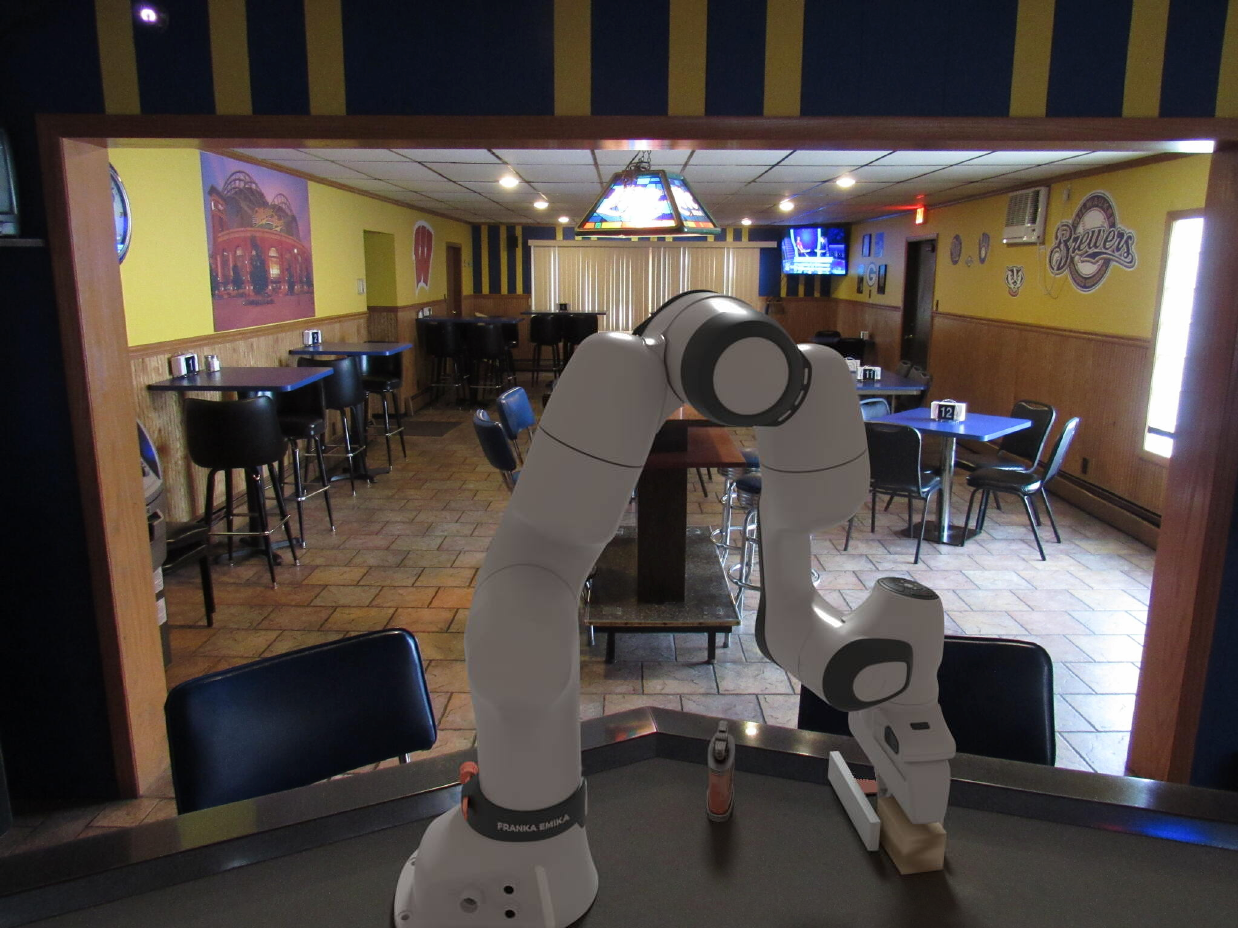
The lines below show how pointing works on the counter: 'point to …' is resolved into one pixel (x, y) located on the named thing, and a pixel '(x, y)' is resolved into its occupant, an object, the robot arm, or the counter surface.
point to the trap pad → (867, 786)
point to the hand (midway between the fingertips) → (887, 804)
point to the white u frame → (855, 801)
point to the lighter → (720, 774)
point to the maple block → (910, 839)
